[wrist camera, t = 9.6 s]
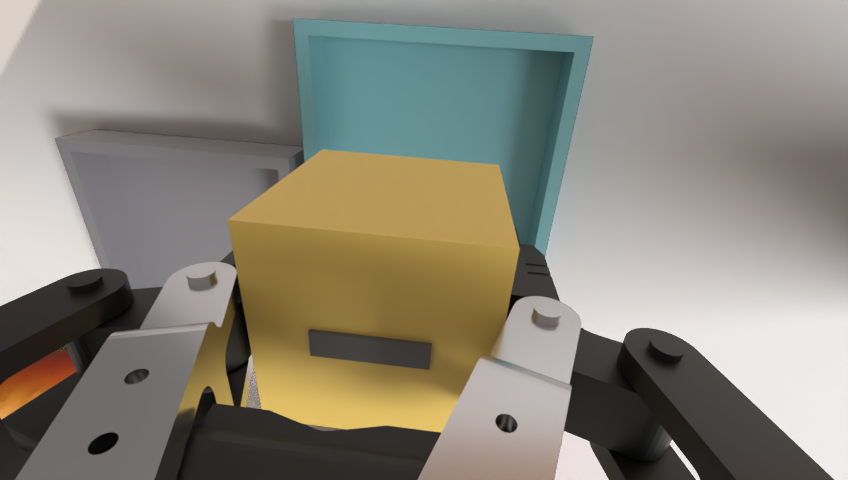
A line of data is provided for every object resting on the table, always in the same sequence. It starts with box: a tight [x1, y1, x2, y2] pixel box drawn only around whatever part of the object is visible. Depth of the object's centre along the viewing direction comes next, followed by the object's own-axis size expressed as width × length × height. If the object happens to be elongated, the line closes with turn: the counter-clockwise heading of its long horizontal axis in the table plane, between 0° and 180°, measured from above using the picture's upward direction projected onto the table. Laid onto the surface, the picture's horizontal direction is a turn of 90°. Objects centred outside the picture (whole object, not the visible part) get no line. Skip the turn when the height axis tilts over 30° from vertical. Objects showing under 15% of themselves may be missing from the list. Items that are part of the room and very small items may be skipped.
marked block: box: [228, 149, 520, 433], centre depth 10 cm, size 5×5×5 cm
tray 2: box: [293, 18, 594, 257], centre depth 20 cm, size 12×12×2 cm
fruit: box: [0, 349, 76, 420], centre depth 29 cm, size 8×8×8 cm
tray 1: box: [55, 129, 305, 289], centre depth 23 cm, size 12×12×2 cm
